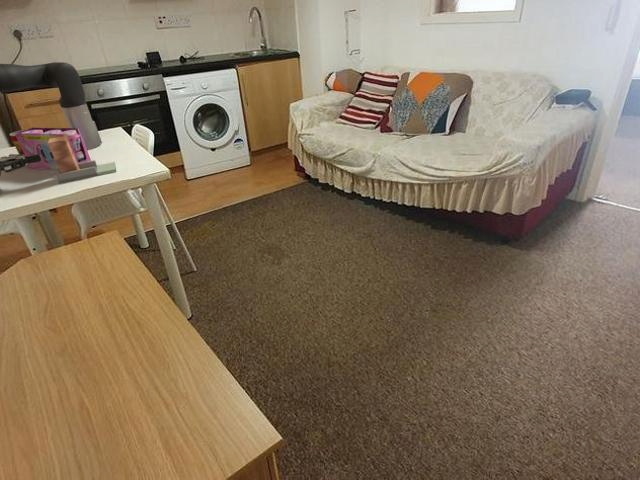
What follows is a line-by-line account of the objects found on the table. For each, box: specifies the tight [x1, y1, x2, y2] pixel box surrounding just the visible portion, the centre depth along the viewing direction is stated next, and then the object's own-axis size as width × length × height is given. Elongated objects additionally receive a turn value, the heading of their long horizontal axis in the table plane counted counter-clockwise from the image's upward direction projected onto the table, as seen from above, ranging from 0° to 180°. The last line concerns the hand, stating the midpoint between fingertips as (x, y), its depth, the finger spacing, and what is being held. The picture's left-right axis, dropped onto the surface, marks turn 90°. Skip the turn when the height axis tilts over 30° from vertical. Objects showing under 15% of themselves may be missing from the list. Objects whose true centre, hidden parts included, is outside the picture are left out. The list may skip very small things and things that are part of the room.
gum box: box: [15, 126, 92, 171], centre depth 143 cm, size 24×8×14 cm, turn 73°
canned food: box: [9, 129, 30, 167], centre depth 150 cm, size 8×8×12 cm
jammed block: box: [48, 136, 80, 173], centre depth 132 cm, size 5×6×12 cm
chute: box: [54, 159, 117, 184], centre depth 137 cm, size 18×9×3 cm, turn 116°
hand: (40, 157), depth 129 cm, fingers closed
